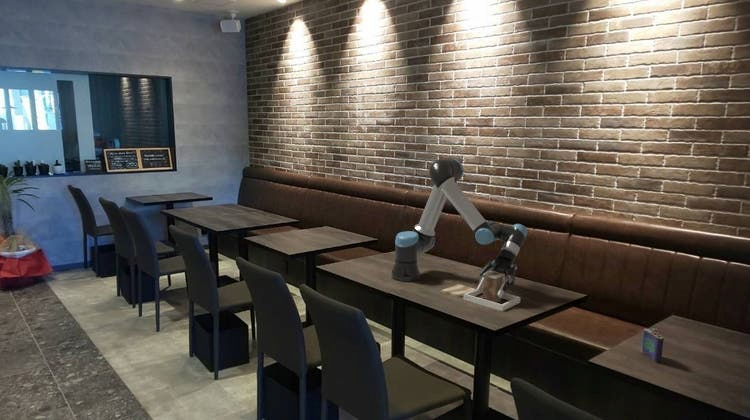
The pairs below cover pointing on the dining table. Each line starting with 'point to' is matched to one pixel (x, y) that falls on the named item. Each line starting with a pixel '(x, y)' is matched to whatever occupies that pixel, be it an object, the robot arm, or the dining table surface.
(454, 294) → the board
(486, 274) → the canister
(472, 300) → the white rectangular frame
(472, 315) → the dining table surface
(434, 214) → the robot arm
